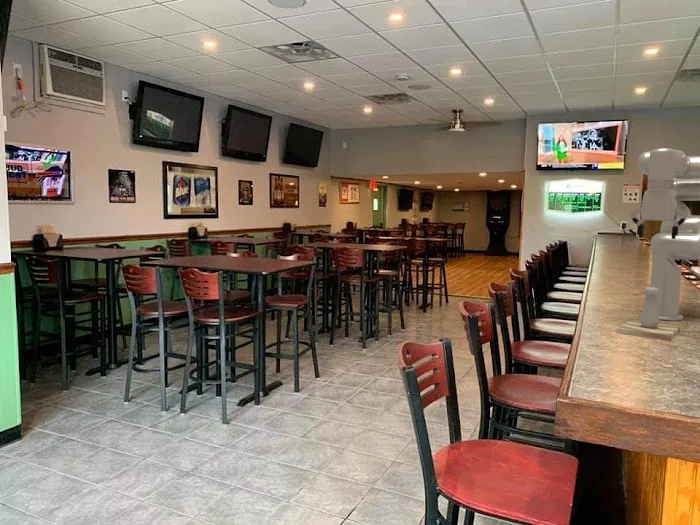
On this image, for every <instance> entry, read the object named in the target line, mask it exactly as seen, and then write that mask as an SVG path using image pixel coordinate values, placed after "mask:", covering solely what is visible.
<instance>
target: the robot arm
mask: <svg viewBox="0 0 700 525" xmlns="http://www.w3.org/2000/svg"><path fill="white" fill-rule="evenodd" d="M637 166H638V167H637V168H638V170H639V172H640V173H641V174H642V175H646V176H647V190H644V193H643V197H642V203H641V207H639V208H638V209H635V210H634V211H633V210H632V211H630V212H629V216H630V218H631V219H632V222H633V223H634V224H636V226H637V227H636V228H637V229H636V230H637V231H636V234H637V236H638V238H640V239H641V238H643V237H644V229H645V228H644V224H645V223H646V222H647V221H662V222H661V225H660V232H659V233H656V234H654V235H653V236H652V237H651V239H650V253H651V254H650V255H651V272H650V273H651V274H650V287H653V288H657V289H659V295H657V303H658V310H659V318H660V321H672V322H673V321H676V322H677V321H683V320H684V315H682V314H679V310H680V297H681V284H682V282H681V281H682V270H681V267H680V266H679V264H678V263H676V261H675V260H687V261H688V260H689V261H699V260H700V215H695V214H694V215H692V213H691V212H692V211H691V210H690V208H689V207H688V206H687V205H686V204H685V203H684V202H685V201H689V202H693V201H695V202H697V201H699V202H700V155H690V156H688V155H686V154H685V152H684V151H683V150H679V149H674V148H671V147H670V148H665V147H662V148H655V149H652V150H651V151H650V150H649V151H644V152H642V153H641V154H640V155H639V156H638V160H637ZM683 201H684V202H683ZM638 214H640V219H638V218H637V216H636V215H638Z"/></svg>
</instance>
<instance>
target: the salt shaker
mask: <svg viewBox="0 0 700 525" xmlns="http://www.w3.org/2000/svg"><path fill="white" fill-rule="evenodd" d="M643 294H644V295H645V297H644V301H643V305H642V308H641V312H640V314H639V318H638V319H639V320H638V321H640V323H641V325H642V327H645V328H656V327H657V326H658V324H660V321H661V320H660V318H659V310H658V303H657V295H659V289H657V288H653V287H651V286H650V287H649V286H647V287H645V288H644V289H643Z"/></svg>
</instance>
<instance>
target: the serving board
mask: <svg viewBox="0 0 700 525" xmlns="http://www.w3.org/2000/svg"><path fill="white" fill-rule="evenodd" d="M680 331H681V326H680V325H673V324H672V325H671V324H665V323H664V324H663V323H659V324H658V326H657V327H656V328H645V327H642V325H641V323H640V321H639V320H632V319H629V320H628V321H626V322H624V323H623V324H620V325H619V326H618V327H616V334H617V333H618V334H621V335H622V334H624V335H631V336H636V337H637V336H638V337H642V336H643V337H644V338H650V339H657V340H664V341H671V340H672V339H673V338H674V337H676V335H677V334H678V333H680ZM643 337H642V338H643Z"/></svg>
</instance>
